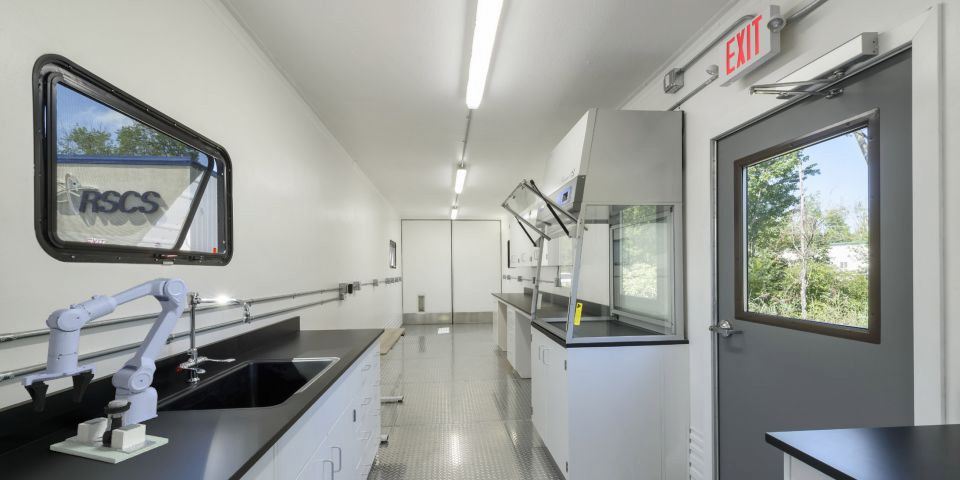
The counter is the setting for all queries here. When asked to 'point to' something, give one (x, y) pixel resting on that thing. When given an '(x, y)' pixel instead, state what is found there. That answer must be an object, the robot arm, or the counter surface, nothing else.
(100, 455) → the mounting board
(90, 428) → the mounted modules
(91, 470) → the counter surface
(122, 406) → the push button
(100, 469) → the counter surface
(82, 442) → the rail
